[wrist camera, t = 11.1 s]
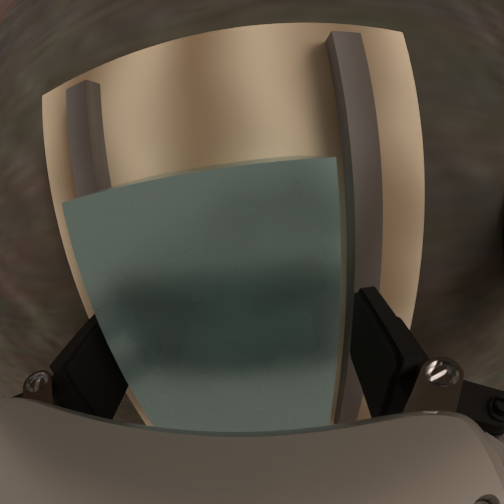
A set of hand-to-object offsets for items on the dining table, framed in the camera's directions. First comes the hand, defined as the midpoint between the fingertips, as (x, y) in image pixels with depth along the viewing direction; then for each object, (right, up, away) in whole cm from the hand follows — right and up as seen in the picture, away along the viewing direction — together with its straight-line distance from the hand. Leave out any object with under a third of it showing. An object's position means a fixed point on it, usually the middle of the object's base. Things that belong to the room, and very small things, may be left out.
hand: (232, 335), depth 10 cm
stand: (0, +2, +6) cm, 7 cm away
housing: (0, +1, +3) cm, 3 cm away
